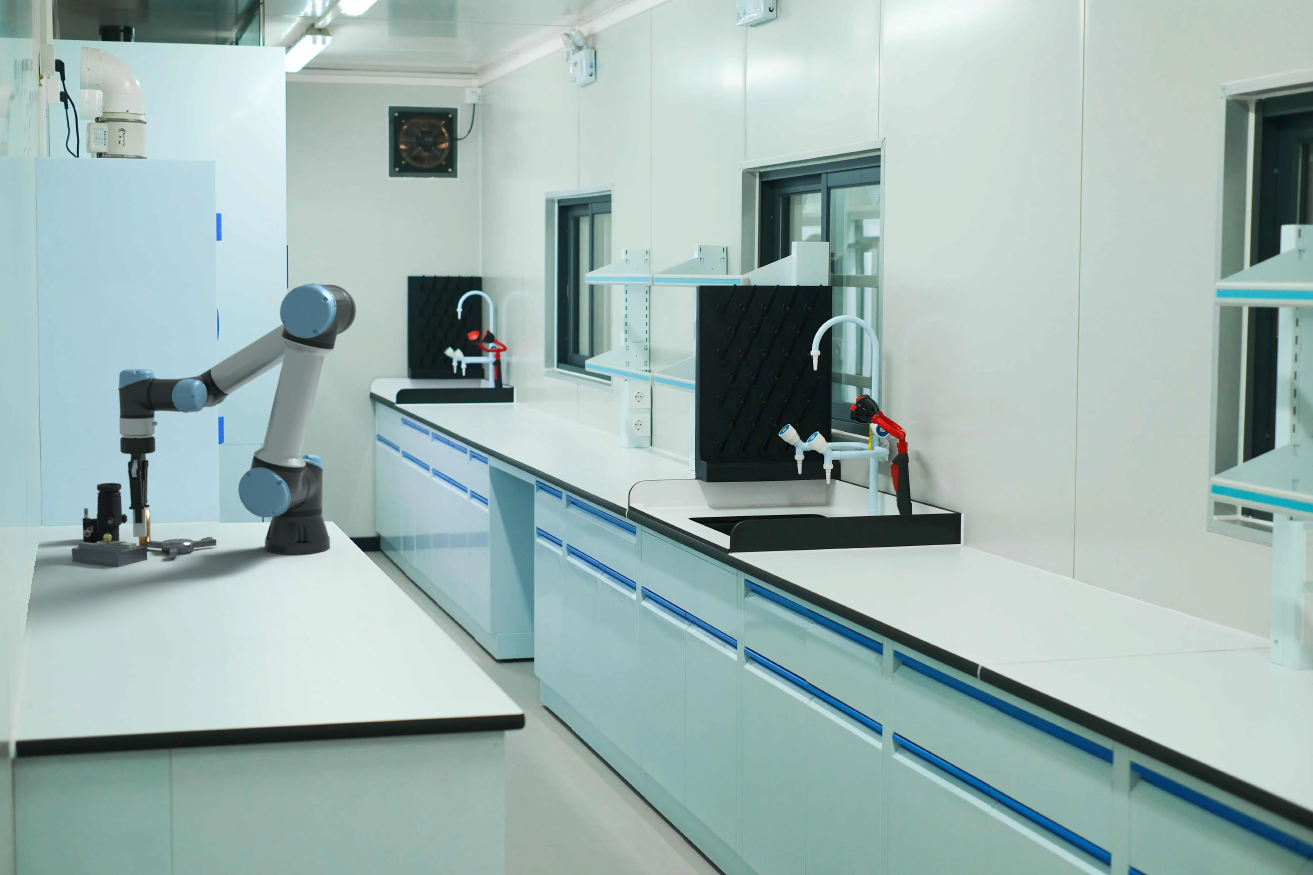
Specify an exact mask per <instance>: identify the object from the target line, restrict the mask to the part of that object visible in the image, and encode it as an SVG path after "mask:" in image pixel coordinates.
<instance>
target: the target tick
mask: <svg viewBox="0 0 1313 875" xmlns="http://www.w3.org/2000/svg"><path fill="white" fill-rule="evenodd" d="M207 539H213V537H212V536H207V537H202V538H200V540H207Z"/></svg>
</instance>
